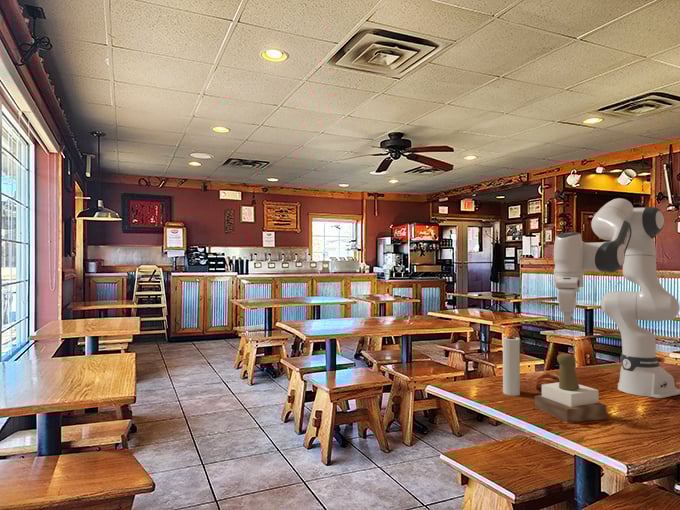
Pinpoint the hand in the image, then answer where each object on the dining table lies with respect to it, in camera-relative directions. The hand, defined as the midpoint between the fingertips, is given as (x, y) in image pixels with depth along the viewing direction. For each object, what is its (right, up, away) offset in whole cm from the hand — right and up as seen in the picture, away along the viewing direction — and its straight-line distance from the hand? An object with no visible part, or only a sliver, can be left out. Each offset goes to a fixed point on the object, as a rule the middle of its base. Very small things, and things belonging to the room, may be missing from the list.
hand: (568, 323), depth 152 cm
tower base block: (0, -31, 0) cm, 31 cm away
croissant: (+7, -30, +24) cm, 40 cm away
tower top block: (+1, -26, +1) cm, 26 cm away
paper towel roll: (-10, -30, +22) cm, 39 cm away
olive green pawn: (0, -22, 0) cm, 22 cm away
